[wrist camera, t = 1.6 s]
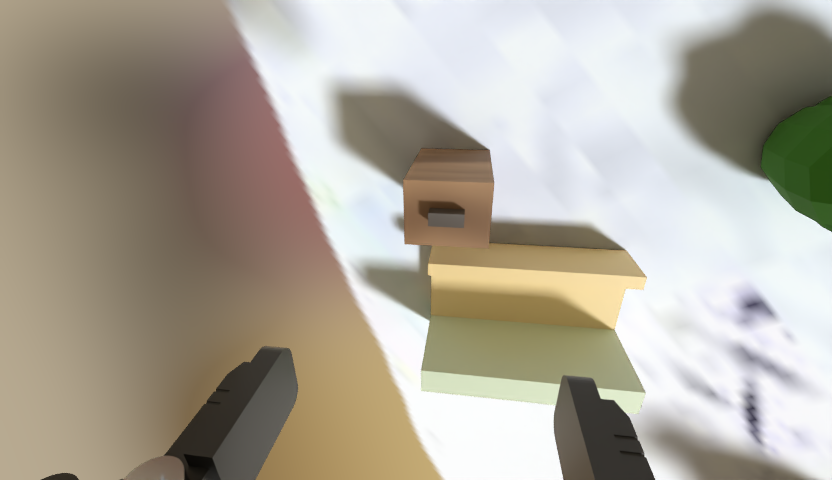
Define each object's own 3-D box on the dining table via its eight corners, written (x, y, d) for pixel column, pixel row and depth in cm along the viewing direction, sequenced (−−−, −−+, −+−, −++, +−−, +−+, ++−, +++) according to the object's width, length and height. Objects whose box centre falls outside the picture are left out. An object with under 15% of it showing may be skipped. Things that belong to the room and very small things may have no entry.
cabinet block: (421, 148, 28) (400, 184, 21) (489, 149, 28) (494, 187, 20) (421, 199, 30) (402, 250, 22) (485, 201, 30) (489, 255, 22)
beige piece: (433, 240, 32) (421, 294, 24) (626, 250, 30) (673, 312, 22) (432, 322, 35) (421, 390, 28) (603, 337, 33) (638, 414, 26)
